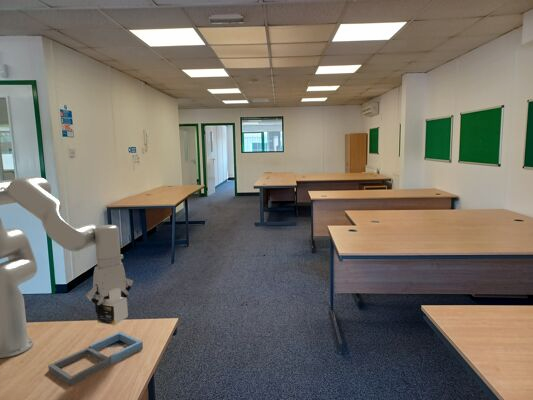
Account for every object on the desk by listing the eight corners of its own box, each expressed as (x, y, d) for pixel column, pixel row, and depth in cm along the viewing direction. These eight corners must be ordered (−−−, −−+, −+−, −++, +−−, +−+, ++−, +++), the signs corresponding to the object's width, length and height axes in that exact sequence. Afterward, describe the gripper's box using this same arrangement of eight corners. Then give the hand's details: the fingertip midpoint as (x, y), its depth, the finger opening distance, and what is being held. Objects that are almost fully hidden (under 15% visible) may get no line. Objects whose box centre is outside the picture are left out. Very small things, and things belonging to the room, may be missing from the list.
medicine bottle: (97, 323, 124) (94, 289, 123) (111, 314, 131) (109, 282, 129) (114, 325, 122) (112, 291, 120) (128, 316, 129) (126, 284, 127)
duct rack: (48, 371, 116) (48, 363, 116) (120, 337, 137) (120, 331, 137) (70, 385, 109) (69, 377, 108) (142, 348, 129) (142, 341, 129)
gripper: (124, 254, 133) (127, 299, 135) (77, 266, 119) (81, 316, 121) (137, 256, 129) (140, 303, 131) (90, 269, 115) (94, 322, 117)
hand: (112, 309), depth 126 cm, fingers closed on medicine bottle, 8 cm apart
